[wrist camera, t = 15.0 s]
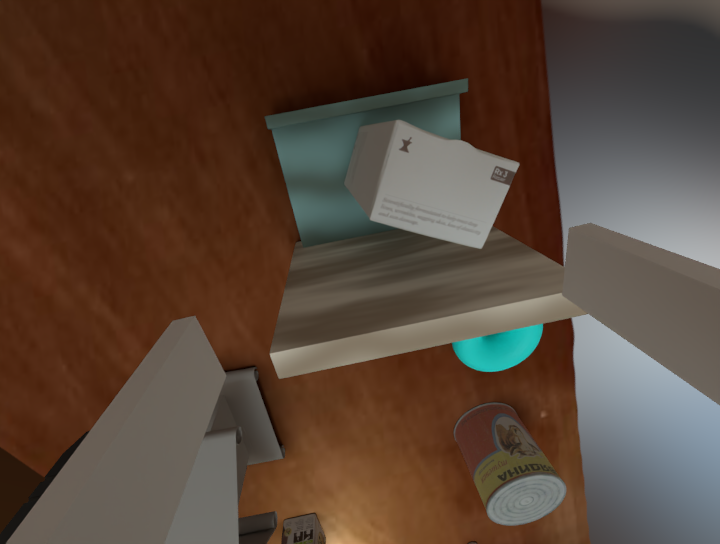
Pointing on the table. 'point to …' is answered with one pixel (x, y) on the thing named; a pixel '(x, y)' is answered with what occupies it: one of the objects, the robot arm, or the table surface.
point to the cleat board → (389, 252)
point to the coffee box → (303, 531)
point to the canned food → (507, 465)
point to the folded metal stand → (228, 469)
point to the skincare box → (427, 182)
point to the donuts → (498, 348)
